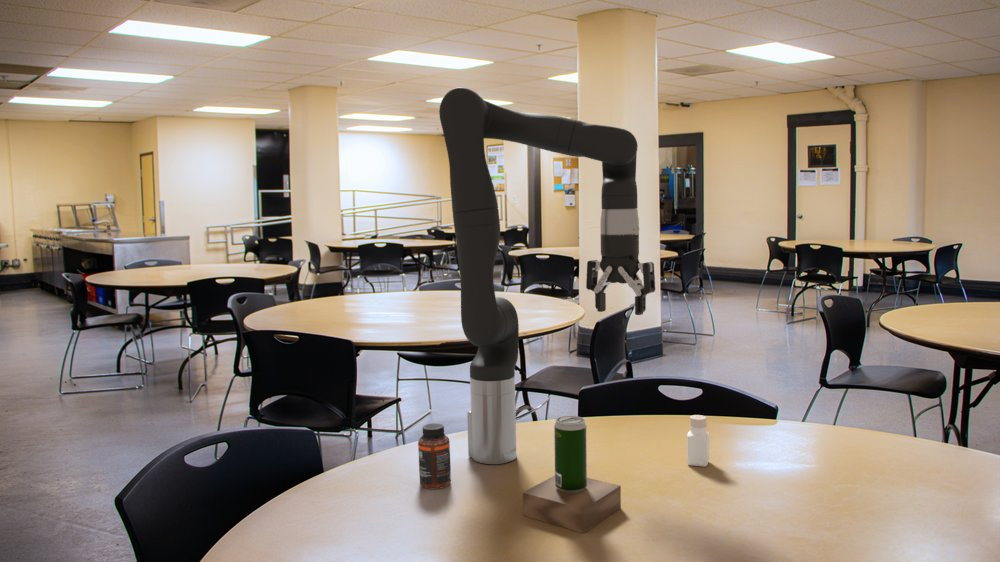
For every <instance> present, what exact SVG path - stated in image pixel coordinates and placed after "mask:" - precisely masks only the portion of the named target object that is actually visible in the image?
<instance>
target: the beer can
mask: <svg viewBox="0 0 1000 562" xmlns="http://www.w3.org/2000/svg"><path fill="white" fill-rule="evenodd" d="M585 422H586V419H585V418H583V417H581V416H577V415H563V416H559V417H557V418H555V424H554V428H553V429H554V430H553V431H554V434H553V435H554V475H555V485H556V488H557V490H558V491H559V492H562V493H566V494H578V493H581V492H583V491H584V490H585V488H586V486H587V478H588V475H587V474H588V471H587V470H588V469H587V467H588V464H587V462H588V461H587V458H588V457H587V455H588V454H587V451H588V450H587V447H588V446H587V424H586V423H585Z"/></svg>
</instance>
